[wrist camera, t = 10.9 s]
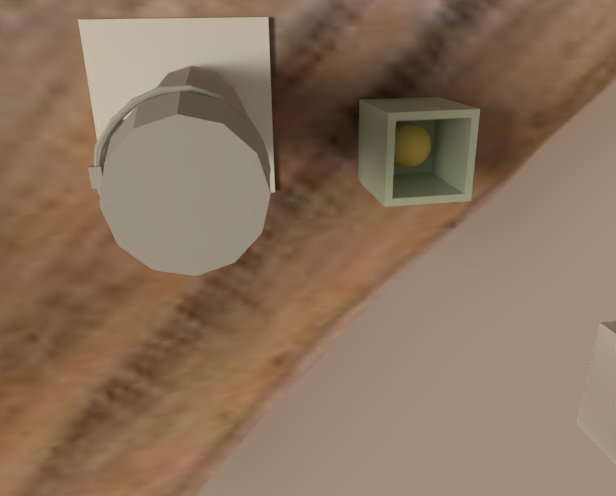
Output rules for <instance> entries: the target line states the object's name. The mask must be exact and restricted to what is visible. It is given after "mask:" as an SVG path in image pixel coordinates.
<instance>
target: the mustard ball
mask: <svg viewBox="0 0 616 496" xmlns="http://www.w3.org/2000/svg"><path fill="white" fill-rule="evenodd" d="M430 150H431V140H430V137H429V135H428V133H427V132H426V130H425V129H424V128H422V127H421V126H419V125H416V124H412V123H408V124H403V125H400V126H398V127H397V128H395V150H394V163H396V164H397V165H399V166H402V167H407V168H410V167H415V166H418V165H420V164H421V163H422V162H424V161H425V159H426V158H427V157H428V155H429V153H430Z"/></svg>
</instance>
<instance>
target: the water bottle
mask: <svg viewBox="0 0 616 496" xmlns="http://www.w3.org/2000/svg"><path fill="white" fill-rule="evenodd" d="M134 108H135V109H134ZM133 109H134V110H133ZM132 110H133V111H132ZM130 111H132V112H131V114H130V115H129V116H128V117H127V118H126V119H124V120H122V119H123V118H124V117H125V116H126V115H127V114H128V113H129V112H130ZM104 148H105V149H104ZM103 152H104V153H103ZM88 170H89V175H90V181H91V186H92V189H95V188H97V189H98V192H99V195H100V205H99V207H100V209H101V211H102V213H103V215H104V217H105V219H106V221H107V223H108V225H109V227H110V230H111V232H112V234H113V236H114V238H115V240H116V242H117V244H118V246H120V247H121V248H123V249H124V250H126V251H127V252H128V253H130V254H131V255H133V256H134V257H135V258H137V259H138V260H140V261H141V262H143V263H144V264H145V265H147V266H148V267H150V268H151V269H153V270H156V271H163V272H171V273H178V274H185V275H192V276H197V275H200V274H203V273H206V272H209V271H212V270H215V269H217V268H220V267H223V266H226V265H229V264H232V263H235V262H236V261H237V260H238V258H239V257H240V256H241V255H242V254H243V253H244V252H245V251H246V250H247V249H248V248H249V247H250V245H251V244H252V243H253V242H254V241H255V240H256V239H257V238H258V237H259V236H260V235H261V233H262V231H263V226H264V222H265V217H266V212H267V208H268V203H269V199H270V194H271V191H270V172H271V167H270V164H269V157H268V153H267V150H266V147H265V144H264V141H263V139H262V137H261V136H260V134H259V132H258V130H257V128H256V127H255V125H254V124H253V123H252V121H251V120H250V118H249V116H248V115H247V113H246V111H245V109H244V107H243V105H242V103H241V101H240V99H239V97H238V95H237V93H236V91H235V89H234V87H232V86H231V85H230V84H229V83H228V82H227V81H226V80H225V79H224V78H223V77H221V76H220V75H219V74H218V73H217V72H216V71H213V70H209V69H205V68H200V67H196V66H192V65H191V66H188V67H185V68H182V69H179V70H176V71H173V72H170V73H168V74H167V75H166V76H165V78H164V79H163V80H162V81H161V82H160V84H159V85H158V86H157V87H156V88H155V89H152V90H150V91H148V92H146V93H144V94H141V95H139V96H137V97H135V98H133V99H131V100H130V101H129V102H128V103H127V104H126V105H125V106H124V107H123V108H122V109H121V110H120V111H119V112H118V113H117V114H116V115H115V116H113V117H112V118H111V119H110V121H109V123H108V124H107V126H106V128H105V129H104V131H103V133H102V135H101V136H100V138H99V140H98V141H97V143H96V145H95V148H94V164H93V165H92V166H90V167H88Z"/></svg>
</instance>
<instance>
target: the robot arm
mask: <svg viewBox="0 0 616 496" xmlns="http://www.w3.org/2000/svg"><path fill="white" fill-rule="evenodd" d="M577 425H578V426H580V428H581V429H582V430H583V431H584V432H585V433H586V434H587V435H588V436H589V437H590V438H591V439H592V440H593V441H594V442H595V443H596V445H597V446H598V447H599V448H600V449H601V450H603V452H604V453H605V454H606V455H607V456H608V457H609V458H610V459H611V460H612V461H613V462H614V463H615V465H616V322H602V323H600V326H599V330H598V335H597V339H596V343H595V347H594V351H593V355H592V360H591V364H590V368H589V372H588V376H587V380H586V385H585V389H584V393H583V398H582V402H581V406H580V410H579V415H578V418H577Z"/></svg>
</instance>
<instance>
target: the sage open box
mask: <svg viewBox="0 0 616 496" xmlns="http://www.w3.org/2000/svg"><path fill="white" fill-rule="evenodd" d="M479 116H480V109H478V108H475V107H472V106H468V105H465V104H462V103H458V102H455V101H452V100H448V99H445V98H441V97H438V96H437V97H410V98H383V99H359V145H358V181H359V182H360V183H361V184H362V185H363V186H364V187H365V188H366V189H367V190H368V191H369V192H370V193H371V194H372V195H373V196H374V197H375V198H376V199H377V200H378V201H379V202H380V203H381V204H382V205H383V206H384V207H388V206H402V205H417V204H432V203H446V202H461V201H471V196H472V186H473V176H474V166H475V156H476V146H477V136H478V126H479ZM408 123H412V124H416V125H419V126H421V127H422V128H424V129H425V130H426V132H427V133H428V135H429V137H430V140H431V150H430V153H429V155H428V157H427V158H426V159H425V161H424V162H422V163H421V164H420V165H418V166H415V167H410V168H407V167H402V166H399V165H397V164H396V163H394V150H395V128H397V127H398V126H400V125H403V124H408Z"/></svg>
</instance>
